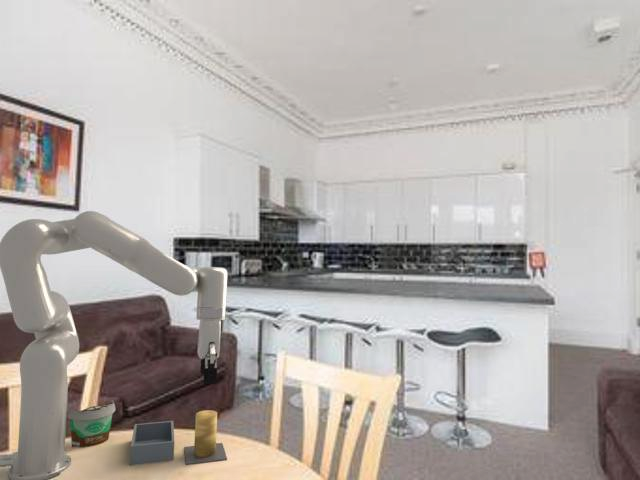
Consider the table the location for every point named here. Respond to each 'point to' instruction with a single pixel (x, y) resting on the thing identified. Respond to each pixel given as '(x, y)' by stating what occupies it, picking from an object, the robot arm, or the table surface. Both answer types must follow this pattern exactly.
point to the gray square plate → (193, 459)
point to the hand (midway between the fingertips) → (208, 378)
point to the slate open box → (152, 443)
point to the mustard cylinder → (205, 433)
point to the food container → (91, 425)
